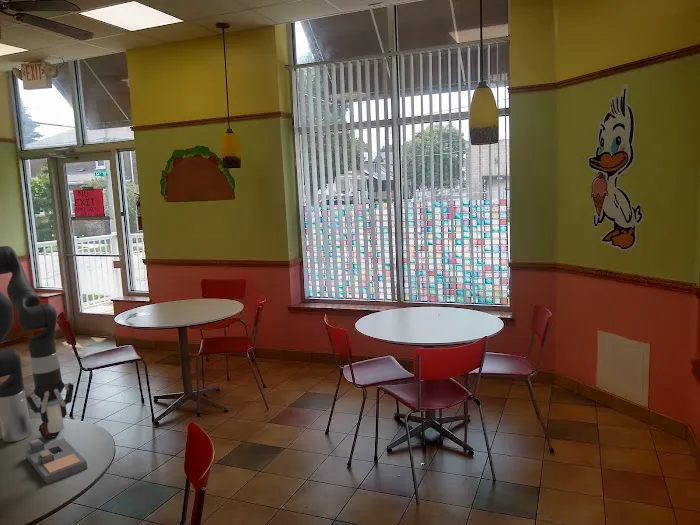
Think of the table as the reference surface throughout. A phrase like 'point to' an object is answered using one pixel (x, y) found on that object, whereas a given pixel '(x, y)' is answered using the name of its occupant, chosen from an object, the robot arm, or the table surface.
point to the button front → (45, 453)
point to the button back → (35, 442)
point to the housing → (56, 460)
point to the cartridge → (54, 416)
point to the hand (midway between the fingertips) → (54, 419)
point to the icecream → (46, 431)
